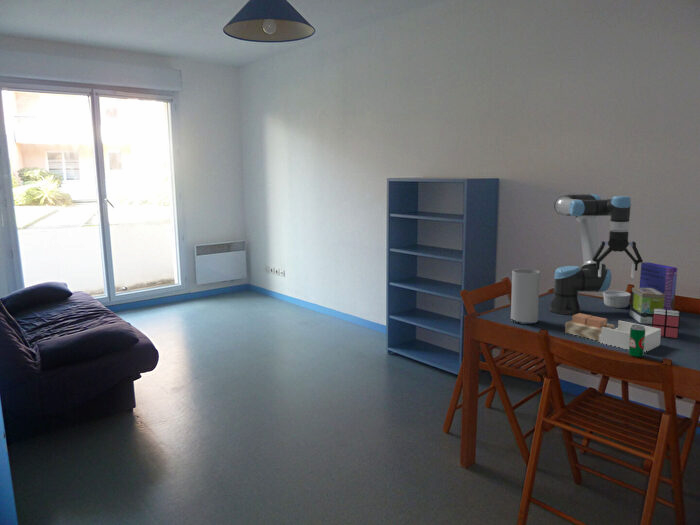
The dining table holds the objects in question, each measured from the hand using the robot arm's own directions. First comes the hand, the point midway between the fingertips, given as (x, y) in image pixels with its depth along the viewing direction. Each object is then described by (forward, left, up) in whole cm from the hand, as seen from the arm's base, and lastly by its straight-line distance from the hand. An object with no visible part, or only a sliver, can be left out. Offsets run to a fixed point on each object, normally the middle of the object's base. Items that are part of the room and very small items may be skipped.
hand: (615, 277), depth 230 cm
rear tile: (-5, -18, -19) cm, 27 cm away
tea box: (+4, +24, -24) cm, 34 cm away
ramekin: (-18, +41, -24) cm, 51 cm away
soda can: (+23, -30, -24) cm, 45 cm away
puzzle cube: (+19, +7, -24) cm, 32 cm away
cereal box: (0, +45, -24) cm, 51 cm away
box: (+15, -18, -24) cm, 34 cm away
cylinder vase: (-33, -21, -24) cm, 46 cm away
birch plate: (-2, -18, -24) cm, 30 cm away
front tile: (+1, -18, -19) cm, 26 cm away
